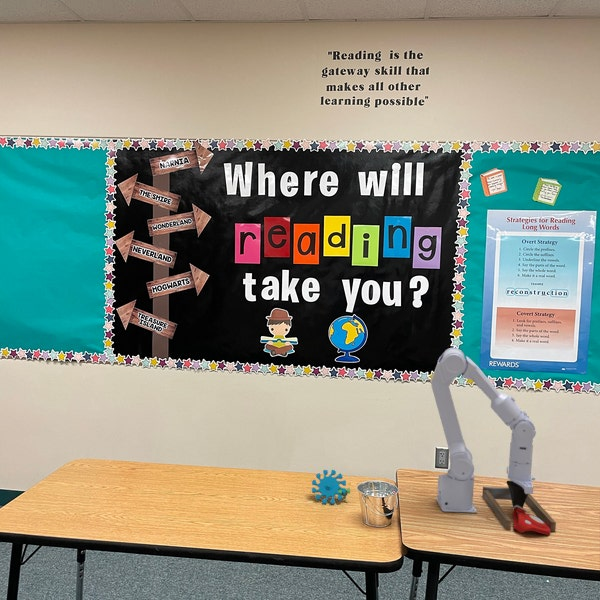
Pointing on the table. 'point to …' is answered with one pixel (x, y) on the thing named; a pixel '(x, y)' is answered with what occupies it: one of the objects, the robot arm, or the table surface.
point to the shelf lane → (503, 493)
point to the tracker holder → (528, 522)
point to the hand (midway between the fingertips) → (517, 509)
